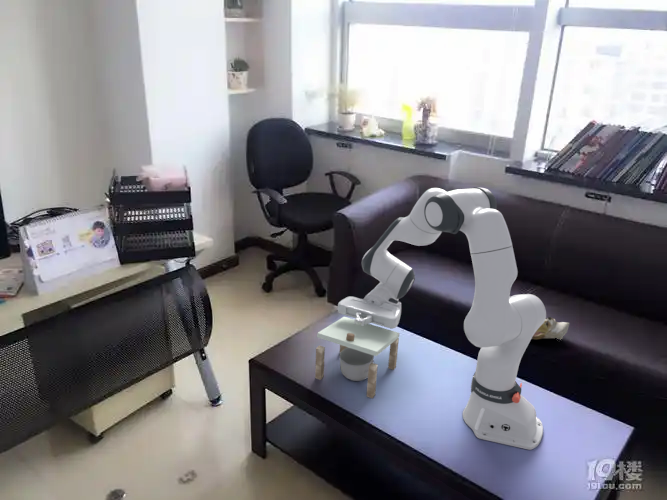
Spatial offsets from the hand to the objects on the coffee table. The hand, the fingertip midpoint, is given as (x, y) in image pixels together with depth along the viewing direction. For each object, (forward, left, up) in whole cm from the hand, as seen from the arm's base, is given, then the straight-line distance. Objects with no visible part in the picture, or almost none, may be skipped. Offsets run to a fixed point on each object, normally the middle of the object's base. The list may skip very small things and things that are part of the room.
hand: (358, 323), depth 179 cm
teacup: (0, -1, -19) cm, 19 cm away
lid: (0, -1, -6) cm, 6 cm away
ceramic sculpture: (-50, -56, -19) cm, 78 cm away
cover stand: (0, -1, -19) cm, 19 cm away
